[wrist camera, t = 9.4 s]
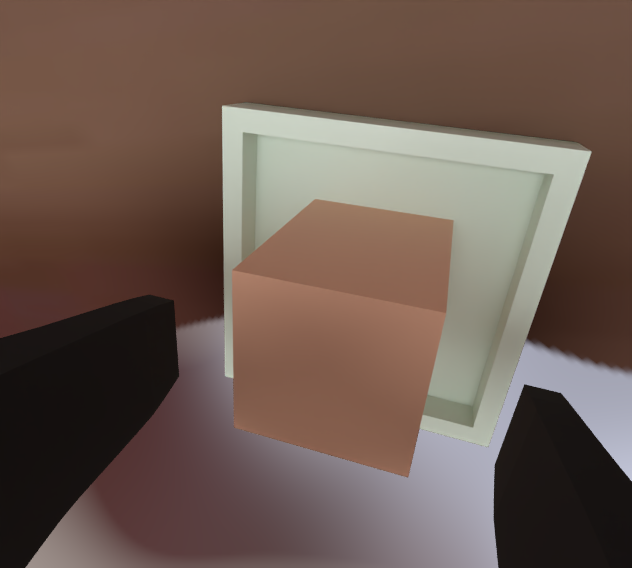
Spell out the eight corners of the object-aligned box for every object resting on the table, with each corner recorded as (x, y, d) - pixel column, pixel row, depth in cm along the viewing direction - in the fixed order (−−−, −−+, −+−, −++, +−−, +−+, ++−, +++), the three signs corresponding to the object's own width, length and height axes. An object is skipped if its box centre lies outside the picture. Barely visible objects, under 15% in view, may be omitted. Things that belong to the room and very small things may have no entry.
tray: (577, 142, 11) (591, 151, 10) (486, 415, 15) (488, 447, 14) (245, 102, 13) (222, 105, 12) (243, 353, 17) (224, 376, 16)
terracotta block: (453, 220, 12) (446, 313, 8) (427, 341, 14) (407, 477, 9) (315, 198, 13) (232, 270, 9) (306, 315, 15) (233, 427, 10)
